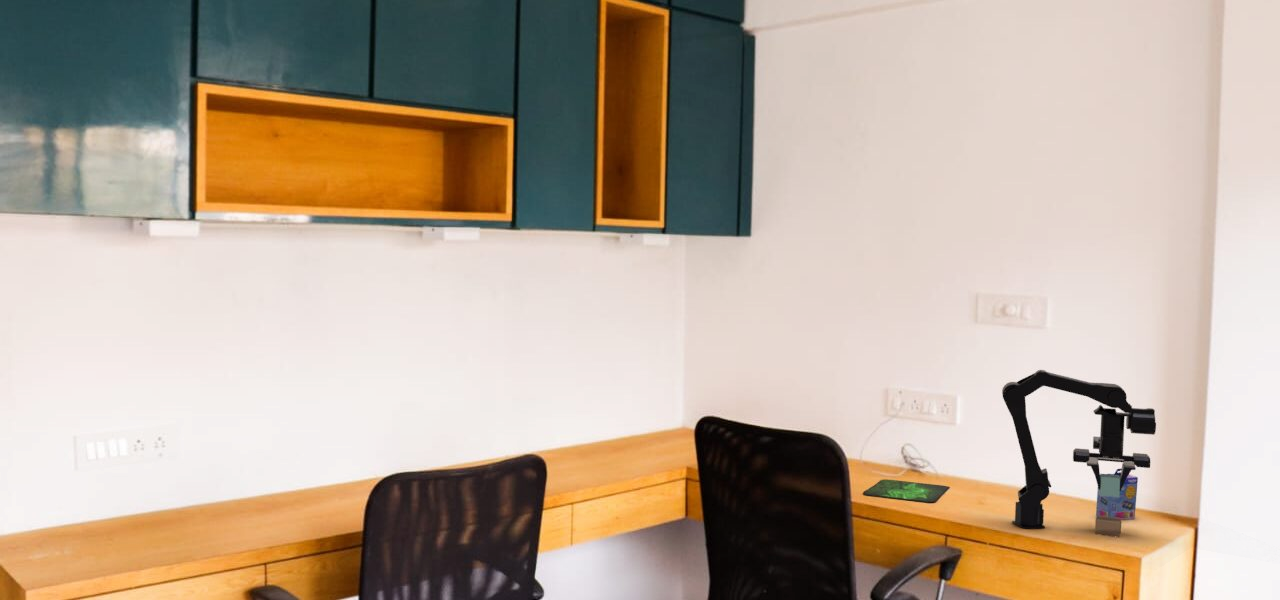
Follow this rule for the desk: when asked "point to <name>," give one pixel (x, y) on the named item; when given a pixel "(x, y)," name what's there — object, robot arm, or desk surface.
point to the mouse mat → (907, 490)
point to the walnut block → (1108, 526)
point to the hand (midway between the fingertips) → (1109, 490)
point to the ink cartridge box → (1119, 500)
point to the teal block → (1109, 485)
